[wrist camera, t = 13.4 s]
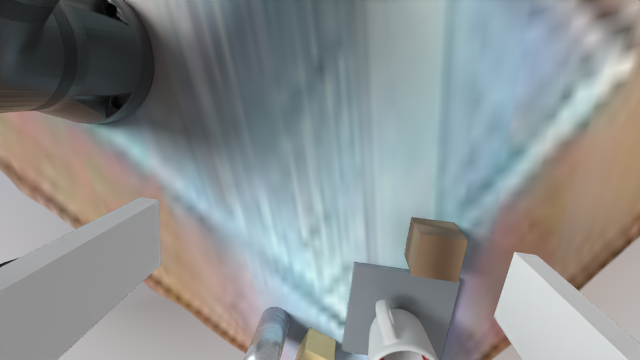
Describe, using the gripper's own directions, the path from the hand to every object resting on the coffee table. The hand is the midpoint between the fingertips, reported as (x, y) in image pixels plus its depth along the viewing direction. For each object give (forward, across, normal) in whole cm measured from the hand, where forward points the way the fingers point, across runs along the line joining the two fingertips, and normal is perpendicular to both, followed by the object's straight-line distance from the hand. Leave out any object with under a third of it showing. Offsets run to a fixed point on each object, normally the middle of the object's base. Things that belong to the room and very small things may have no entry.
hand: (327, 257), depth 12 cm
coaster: (+26, +10, -21) cm, 35 cm away
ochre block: (+26, 0, -28) cm, 38 cm away
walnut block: (+26, +12, -10) cm, 30 cm away
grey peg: (+26, -6, -25) cm, 37 cm away
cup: (+25, +10, -21) cm, 34 cm away
